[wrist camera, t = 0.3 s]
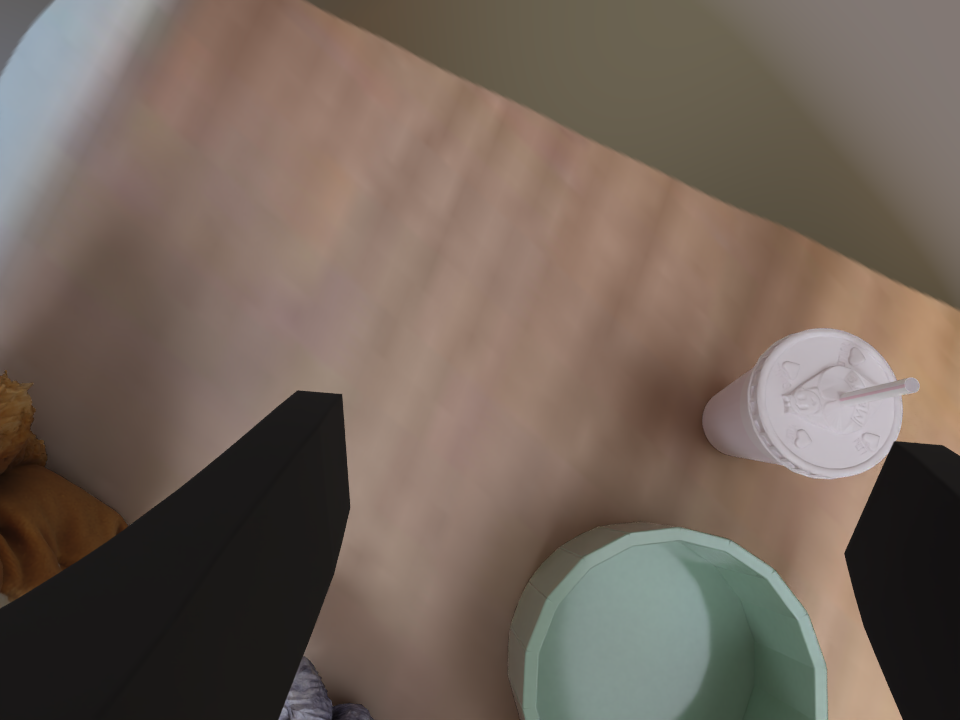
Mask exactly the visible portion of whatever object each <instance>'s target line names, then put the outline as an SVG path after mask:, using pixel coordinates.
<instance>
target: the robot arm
mask: <svg viewBox="0 0 960 720" xmlns="http://www.w3.org/2000/svg"><path fill="white" fill-rule="evenodd" d="M349 511H350V496H349V483H348V469H347V455H346V441H345V428H344V414H343V400H342V394H333V393H321V392H309V391H296V392H295V393H294V394H293V395H291V396H290V397H289V398H288V399H287V400H285V401H284V402H283V403H282V404H280V405H279V406H278V407H277V408H276V409H274V410H273V411H272V412H271V413H270V414H269V415H267V416H266V417H265V418H264V419H263V420H261V421H260V422H259V423H258V424H257V425H256V426H254V427H253V428H252V429H251V430H250V431H249V432H247V433H246V434H245V435H244V436H243V437H242V438H240V439H239V440H238V441H237V442H236V443H234V444H233V445H232V446H231V447H230V448H229V449H227V450H226V451H225V452H224V453H223V454H221V455H220V456H219V457H218V458H216V459H215V460H214V461H213V462H211V463H210V464H209V465H208V466H207V467H205V468H204V469H203V470H202V471H200V472H199V473H198V474H197V475H195V476H194V477H193V478H192V479H191V480H189V481H188V482H187V483H186V484H184V485H183V486H182V487H181V488H179V489H178V490H177V491H175V492H174V493H173V494H171V495H170V496H169V497H167V498H166V499H165V500H163V501H162V502H161V503H159V504H158V505H156V506H155V507H154V508H152V509H151V510H150V511H148V512H147V513H146V514H144V515H143V516H142V517H140V518H139V519H138V520H136V521H135V522H134V523H132V524H131V525H130V526H128V527H127V528H125V529H124V530H123V531H121V532H120V533H119V534H117V535H116V536H114V537H113V538H111V539H110V540H108V541H107V542H106V543H104V544H103V545H101V546H100V547H98V548H97V549H95V550H94V551H92V552H91V553H89V554H88V555H86V556H85V557H83V558H82V559H80V560H79V561H77V562H75V563H74V564H72V565H71V566H69V567H68V568H66V569H64V570H63V571H61V572H60V573H58V574H56V575H55V576H53V577H52V578H50V579H48V580H47V581H45V582H44V583H42V584H40V585H39V586H37V587H36V588H34V589H32V590H31V591H29V592H27V593H26V594H24V595H22V596H21V597H19V598H17V599H16V600H14V601H12V602H11V603H9V604H7V605H5V606H3V607H2V608H0V720H279V717H280V714H281V712H282V709H283V707H284V704H285V701H286V699H287V696H288V694H289V691H290V688H291V686H292V683H293V681H294V678H295V675H296V673H297V670H298V668H299V665H300V662H301V660H302V657H303V655H304V652H305V649H306V647H307V644H308V642H309V639H310V636H311V634H312V631H313V629H314V626H315V623H316V621H317V618H318V615H319V613H320V610H321V607H322V605H323V602H324V599H325V597H326V594H327V591H328V589H329V586H330V583H331V581H332V578H333V575H334V572H335V568H336V564H337V560H338V556H339V552H340V548H341V544H342V540H343V536H344V532H345V528H346V523H347V519H348V515H349ZM844 554H845V558H846V562H847V566H848V570H849V574H850V578H851V582H852V586H853V590H854V594H855V598H856V601H857V604H858V608H859V611H860V615H861V618H862V622H863V625H864V628H865V630H866V633H867V635H868V638H869V640H870V643H871V645H872V648H873V650H874V653H875V655H876V657H877V660H878V662H879V665H880V667H881V669H882V672H883V674H884V677H885V679H886V681H887V684H888V686H889V688H890V691H891V693H892V695H893V698H894V700H895V702H896V705H897V707H898V709H899V712H900V714H901V716H902V719H903V720H960V456H959V455H958V454H956V453H954V452H953V451H951V450H950V449H948V448H946V447H945V446H943V445H932V444H920V443H909V442H897V441H894V442H893V445H892V447H891V449H890V451H889V454H888V456H887V458H886V460H885V463H884V465H883V467H882V469H881V472H880V474H879V476H878V478H877V481H876V483H875V485H874V487H873V490H872V492H871V494H870V497H869V499H868V501H867V503H866V506H865V508H864V510H863V512H862V515H861V517H860V519H859V521H858V524H857V526H856V528H855V530H854V533H853V535H852V537H851V539H850V542H849V544H848V546H847V548H846V551H845V553H844Z"/></svg>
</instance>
